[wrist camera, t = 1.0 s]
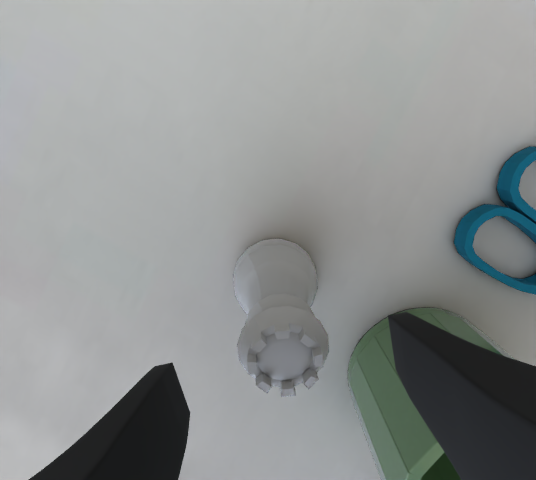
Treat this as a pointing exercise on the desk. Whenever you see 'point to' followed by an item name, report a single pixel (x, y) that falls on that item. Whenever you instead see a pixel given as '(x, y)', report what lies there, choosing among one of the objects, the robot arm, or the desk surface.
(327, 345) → the rook chess piece
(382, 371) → the planter
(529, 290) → the scissors
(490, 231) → the desk surface
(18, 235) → the desk surface
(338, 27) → the desk surface
